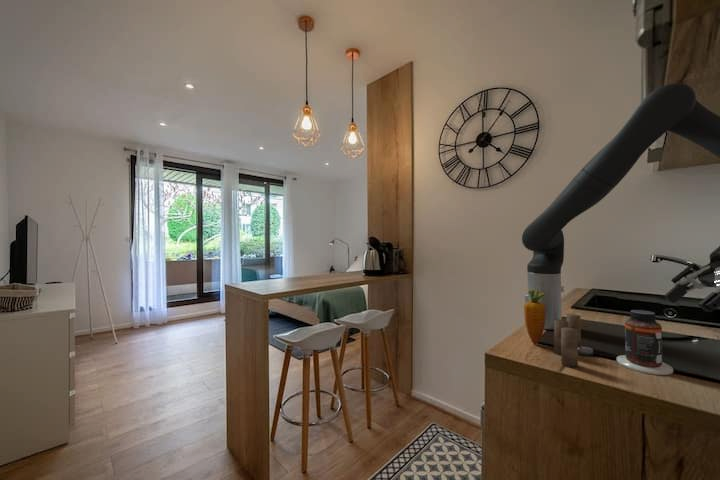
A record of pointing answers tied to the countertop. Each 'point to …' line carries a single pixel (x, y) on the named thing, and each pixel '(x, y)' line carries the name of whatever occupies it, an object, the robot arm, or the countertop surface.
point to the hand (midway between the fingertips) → (684, 304)
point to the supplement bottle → (643, 339)
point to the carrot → (534, 316)
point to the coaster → (645, 367)
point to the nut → (585, 350)
